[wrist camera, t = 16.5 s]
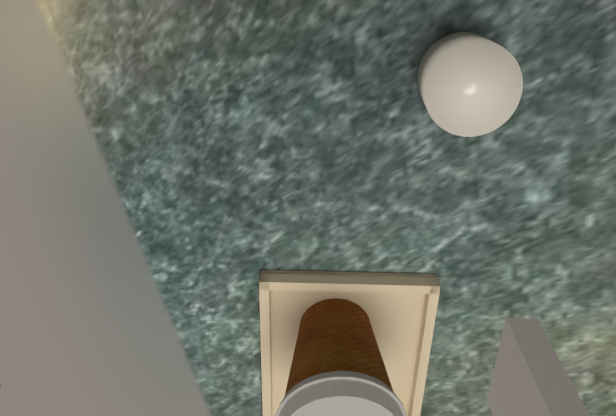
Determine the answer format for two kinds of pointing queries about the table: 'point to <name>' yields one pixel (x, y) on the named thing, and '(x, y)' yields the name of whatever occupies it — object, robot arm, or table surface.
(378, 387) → the disposable coffee cup
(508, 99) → the rounded white cap
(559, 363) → the robot arm
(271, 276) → the serving tray
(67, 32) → the table surface
